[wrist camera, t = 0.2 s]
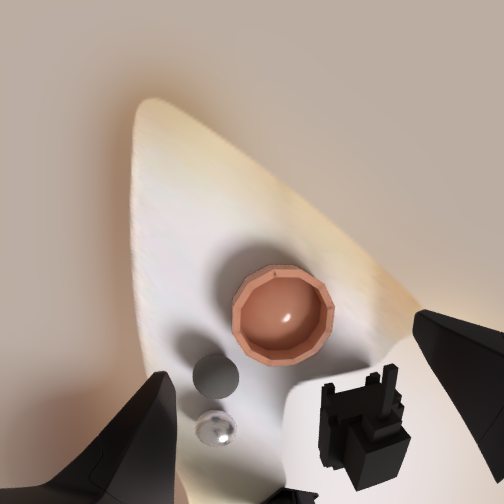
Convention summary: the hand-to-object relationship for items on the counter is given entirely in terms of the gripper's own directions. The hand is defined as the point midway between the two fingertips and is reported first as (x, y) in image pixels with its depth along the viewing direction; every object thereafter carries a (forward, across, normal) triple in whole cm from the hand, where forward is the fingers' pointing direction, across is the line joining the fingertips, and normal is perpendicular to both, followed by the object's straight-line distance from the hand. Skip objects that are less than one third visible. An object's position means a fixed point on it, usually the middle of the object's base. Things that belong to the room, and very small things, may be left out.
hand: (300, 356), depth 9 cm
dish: (+14, -1, +7) cm, 16 cm away
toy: (+12, -7, +18) cm, 22 cm away
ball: (+11, +5, +11) cm, 16 cm away
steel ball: (+10, +7, +17) cm, 20 cm away
